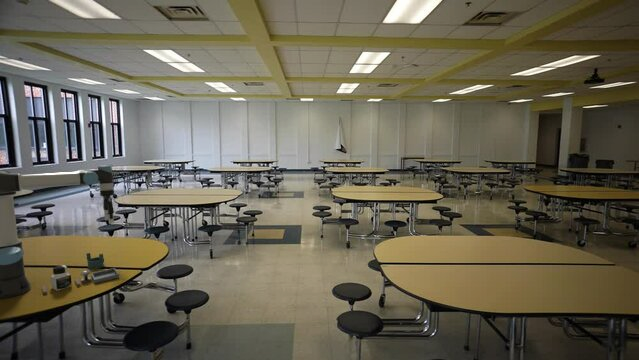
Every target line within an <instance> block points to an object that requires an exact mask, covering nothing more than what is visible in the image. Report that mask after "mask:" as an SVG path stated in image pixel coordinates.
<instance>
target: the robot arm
mask: <svg viewBox="0 0 639 360" xmlns="http://www.w3.org/2000/svg"><path fill="white" fill-rule="evenodd" d="M113 181H114V177H113V168H112V166H111V165H107V164H106V165H98V166H97V168H95V169H80V170H79V169H78V170H75V171H71V172H70V171H69V172H54V173H53V172H52V173H35V174H32V173H31V174H21V173H20V172H19V173H14V172H13V173H11V172H10V171H7V170H3V169H0V299H1V300H2V299H8V298H13V297H17V296H21V295H22V294H25V293H27V292H28V291H30V290H31V288H32V286H31V282H30V281H29V279H28V278H27V276H26V273H25V265H24V264H25V262H24V254H25V251H24V248H23V241H22V240H21V239H20V238H19V237H18V230H17V229H18V227H17V220H16V219H17V218H16V212H15V202H14V196H16V195H17V192H22V191H23V190H26V189H27V190H28V189H38V188H40V189H41V188H52V187H54V188H55V187H64V186H65V187H66V186H79V185H80V186H81V185H89V186H90V185H95V184H96V183H97V182H99V185H98V186H99V187H98V188H99V195H100V197H103V201H102V202H103V203H102V204H103V207H102V209H103V212H104V213H103V214H104V221H108V224H109V225H112V224H115V220H114V213H115V211H114V205H113V204H114V203H113V198H112V197H111V196H114V195H115V190H114V186H115V183H114V182H113Z"/></svg>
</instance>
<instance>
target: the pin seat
mask: <svg viewBox="0 0 639 360" xmlns="http://www.w3.org/2000/svg"><path fill="white" fill-rule="evenodd" d="M74 282H75V284H76V288H77V287H78V286H79V287H81V285H82V284H81V283H82V282H81V280H80V279H79V277H76V278H74ZM42 292H43V296H44V295H47V294H48V289H47V285H46V284H45V285H42Z"/></svg>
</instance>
